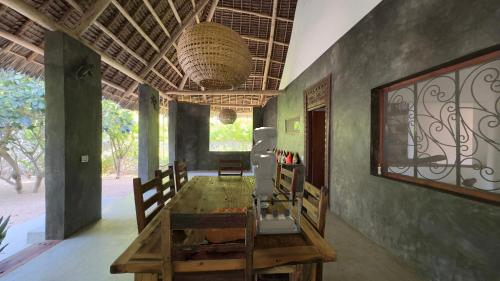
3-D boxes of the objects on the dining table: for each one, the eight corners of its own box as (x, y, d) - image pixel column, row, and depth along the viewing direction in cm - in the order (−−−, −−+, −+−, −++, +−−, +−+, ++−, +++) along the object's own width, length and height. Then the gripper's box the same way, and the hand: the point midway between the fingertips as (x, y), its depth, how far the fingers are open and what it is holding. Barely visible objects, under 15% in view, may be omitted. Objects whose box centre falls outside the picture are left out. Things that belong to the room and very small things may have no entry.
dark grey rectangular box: (272, 216, 136) (272, 209, 137) (277, 216, 136) (277, 209, 138) (273, 216, 135) (273, 209, 136) (278, 216, 135) (277, 209, 136)
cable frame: (252, 222, 143) (253, 191, 142) (290, 221, 146) (291, 191, 145) (257, 234, 126) (257, 199, 125) (300, 232, 129) (301, 199, 128)
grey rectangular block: (261, 216, 135) (261, 209, 136) (266, 216, 136) (265, 209, 137) (261, 217, 134) (261, 209, 135) (266, 216, 134) (266, 209, 135)
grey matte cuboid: (284, 216, 137) (283, 209, 138) (288, 216, 137) (288, 209, 138) (285, 216, 135) (284, 209, 137) (289, 216, 136) (289, 209, 137)
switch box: (257, 224, 139) (257, 214, 139) (289, 223, 142) (289, 213, 142) (260, 231, 130) (260, 220, 129) (294, 230, 132) (294, 219, 132)
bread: (258, 238, 121) (259, 209, 121) (209, 245, 112) (209, 214, 112) (250, 228, 134) (250, 202, 134) (205, 233, 125) (205, 206, 125)
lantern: (172, 246, 128) (195, 247, 106) (169, 215, 132) (190, 210, 111) (185, 242, 133) (210, 242, 111) (181, 212, 137) (204, 207, 116)
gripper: (277, 175, 139) (276, 203, 139) (249, 175, 137) (248, 203, 137) (280, 177, 131) (280, 207, 132) (251, 177, 129) (250, 207, 130)
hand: (264, 205), depth 134 cm, fingers open, 9 cm apart
